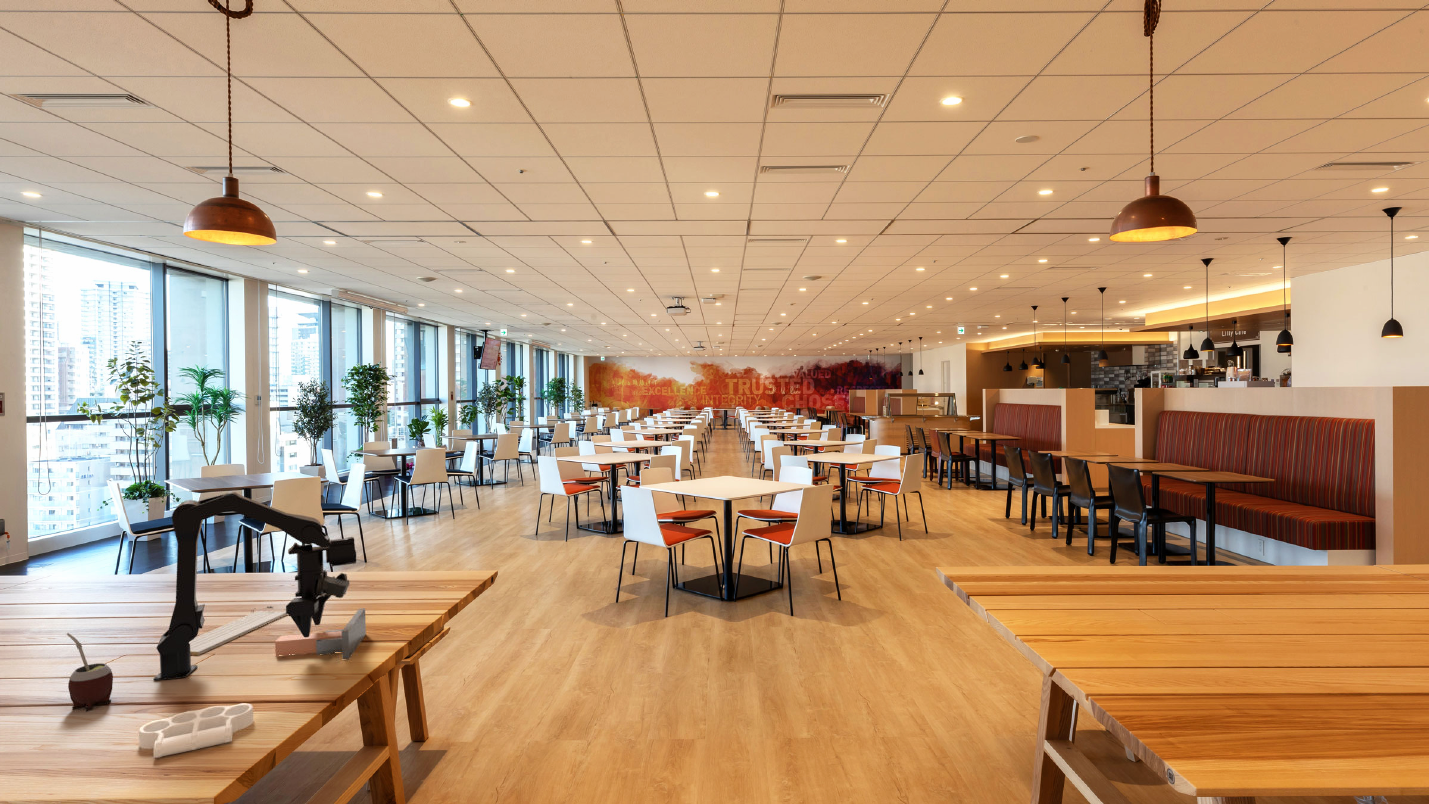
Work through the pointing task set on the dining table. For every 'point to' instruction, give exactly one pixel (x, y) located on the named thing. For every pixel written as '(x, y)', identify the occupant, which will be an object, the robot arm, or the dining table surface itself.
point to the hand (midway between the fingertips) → (312, 630)
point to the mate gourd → (90, 683)
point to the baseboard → (232, 630)
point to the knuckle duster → (195, 729)
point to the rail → (301, 643)
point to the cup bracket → (345, 637)
